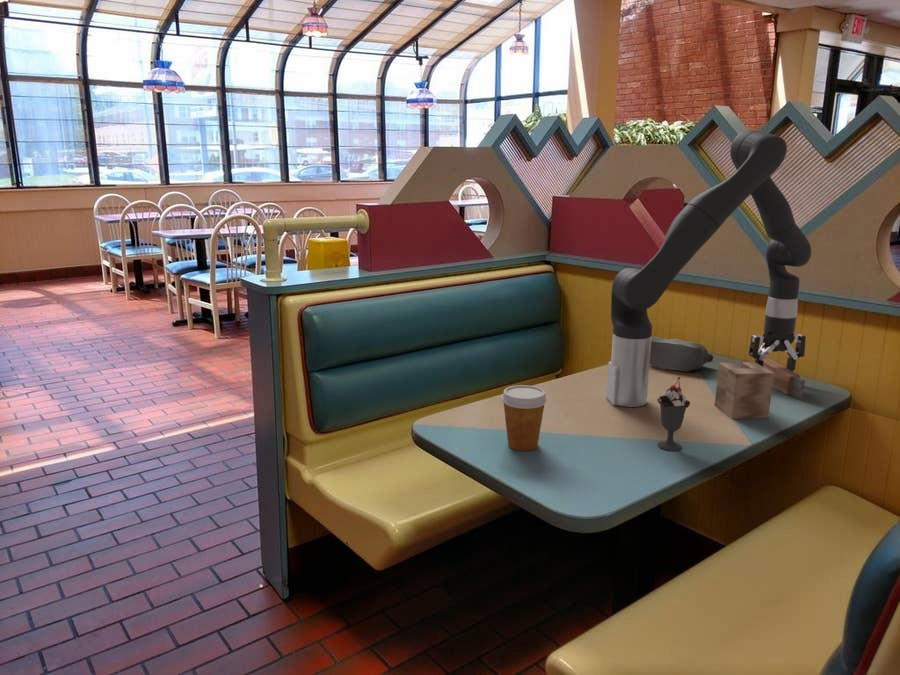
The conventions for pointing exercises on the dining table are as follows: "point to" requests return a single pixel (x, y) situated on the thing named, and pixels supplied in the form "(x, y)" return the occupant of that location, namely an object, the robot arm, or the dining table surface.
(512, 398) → the disposable coffee cup
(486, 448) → the dining table surface
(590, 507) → the dining table surface
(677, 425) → the sundae
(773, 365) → the bed rail
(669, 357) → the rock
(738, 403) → the slotted tan block
